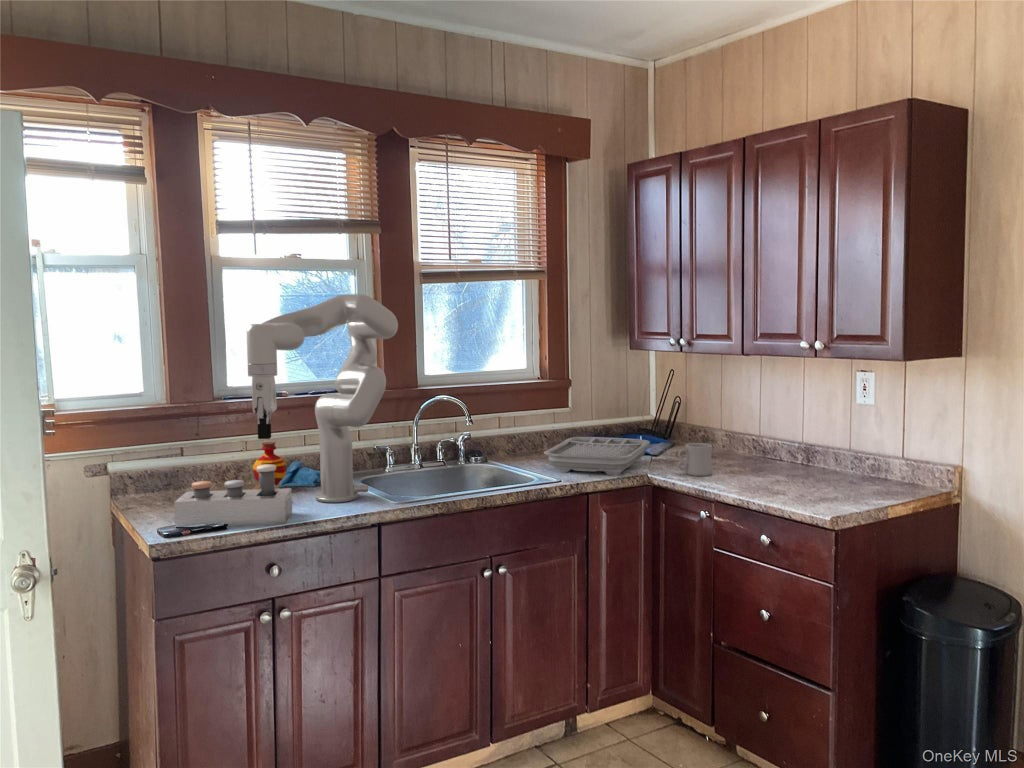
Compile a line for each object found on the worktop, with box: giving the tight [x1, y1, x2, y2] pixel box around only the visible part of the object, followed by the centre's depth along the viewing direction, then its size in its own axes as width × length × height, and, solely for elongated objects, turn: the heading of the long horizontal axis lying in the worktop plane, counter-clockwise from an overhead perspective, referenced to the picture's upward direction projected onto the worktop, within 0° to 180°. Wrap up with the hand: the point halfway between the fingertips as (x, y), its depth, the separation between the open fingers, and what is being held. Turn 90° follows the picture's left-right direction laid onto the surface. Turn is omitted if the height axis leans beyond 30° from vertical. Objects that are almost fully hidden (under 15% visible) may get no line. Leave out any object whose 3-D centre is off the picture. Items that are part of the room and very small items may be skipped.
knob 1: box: [191, 480, 213, 498], centre depth 219 cm, size 5×5×8 cm
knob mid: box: [224, 479, 245, 497], centre depth 220 cm, size 5×5×8 cm
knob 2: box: [257, 465, 276, 496], centre depth 221 cm, size 5×5×8 cm
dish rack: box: [543, 436, 651, 476], centre depth 291 cm, size 32×37×8 cm
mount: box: [174, 487, 293, 528], centre depth 220 cm, size 28×12×7 cm, turn 97°
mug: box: [677, 442, 713, 477], centre depth 276 cm, size 12×9×10 cm
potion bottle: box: [252, 441, 287, 486], centre depth 257 cm, size 10×10×15 cm
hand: (264, 438), depth 219 cm, fingers closed
